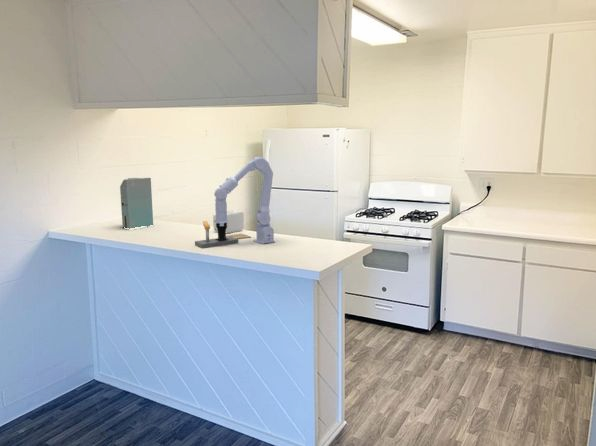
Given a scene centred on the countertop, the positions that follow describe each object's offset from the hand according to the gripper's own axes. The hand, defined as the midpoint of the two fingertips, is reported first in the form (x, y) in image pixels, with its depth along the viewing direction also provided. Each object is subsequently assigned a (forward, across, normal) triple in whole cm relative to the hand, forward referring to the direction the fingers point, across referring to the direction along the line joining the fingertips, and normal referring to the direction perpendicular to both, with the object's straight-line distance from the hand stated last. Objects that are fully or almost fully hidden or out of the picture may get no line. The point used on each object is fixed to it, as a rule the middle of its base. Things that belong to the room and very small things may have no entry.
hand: (221, 237), depth 252 cm
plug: (+3, 0, 0) cm, 3 cm away
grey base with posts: (+3, +1, -3) cm, 4 cm away
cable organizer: (+3, -33, +4) cm, 33 cm away
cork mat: (+3, -15, +8) cm, 18 cm away
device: (+3, -56, -50) cm, 75 cm away
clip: (-6, -2, -8) cm, 10 cm away
